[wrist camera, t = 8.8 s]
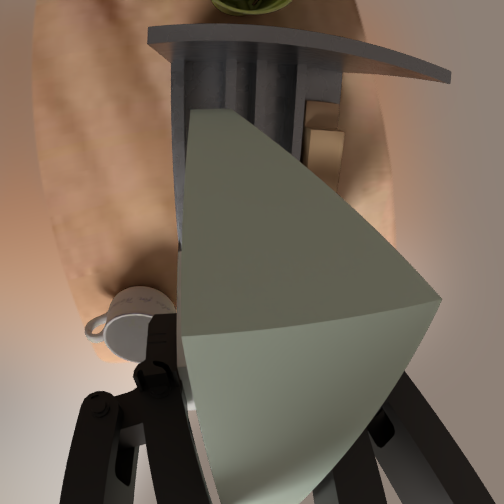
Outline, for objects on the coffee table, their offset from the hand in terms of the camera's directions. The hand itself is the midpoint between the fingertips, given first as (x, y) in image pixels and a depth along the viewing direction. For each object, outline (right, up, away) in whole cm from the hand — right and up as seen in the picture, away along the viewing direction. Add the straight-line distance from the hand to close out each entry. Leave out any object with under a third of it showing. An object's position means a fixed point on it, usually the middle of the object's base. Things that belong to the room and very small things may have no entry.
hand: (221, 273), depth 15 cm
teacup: (-17, -7, +30) cm, 35 cm away
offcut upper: (+9, +11, +20) cm, 24 cm away
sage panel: (-1, +4, +6) cm, 8 cm away
